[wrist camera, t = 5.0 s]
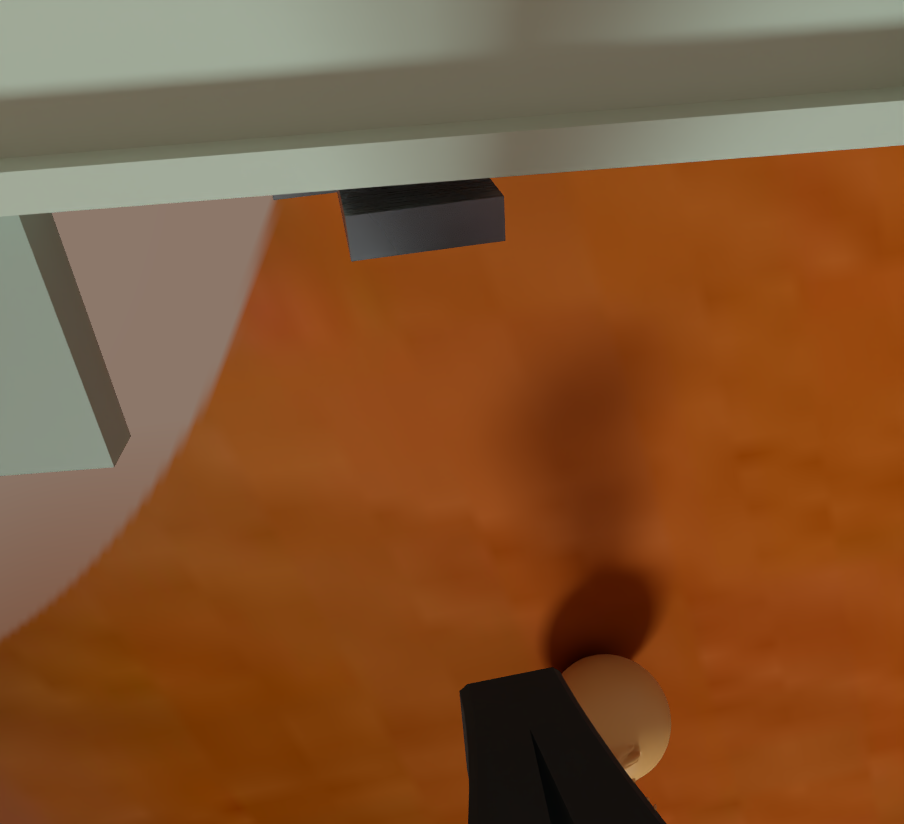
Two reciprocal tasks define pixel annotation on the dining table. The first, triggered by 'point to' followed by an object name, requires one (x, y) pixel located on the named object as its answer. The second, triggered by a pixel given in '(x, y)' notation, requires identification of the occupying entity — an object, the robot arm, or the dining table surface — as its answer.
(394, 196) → the fulcrum
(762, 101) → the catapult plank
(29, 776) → the dining table surface
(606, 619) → the dining table surface
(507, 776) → the robot arm
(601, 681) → the figurine
